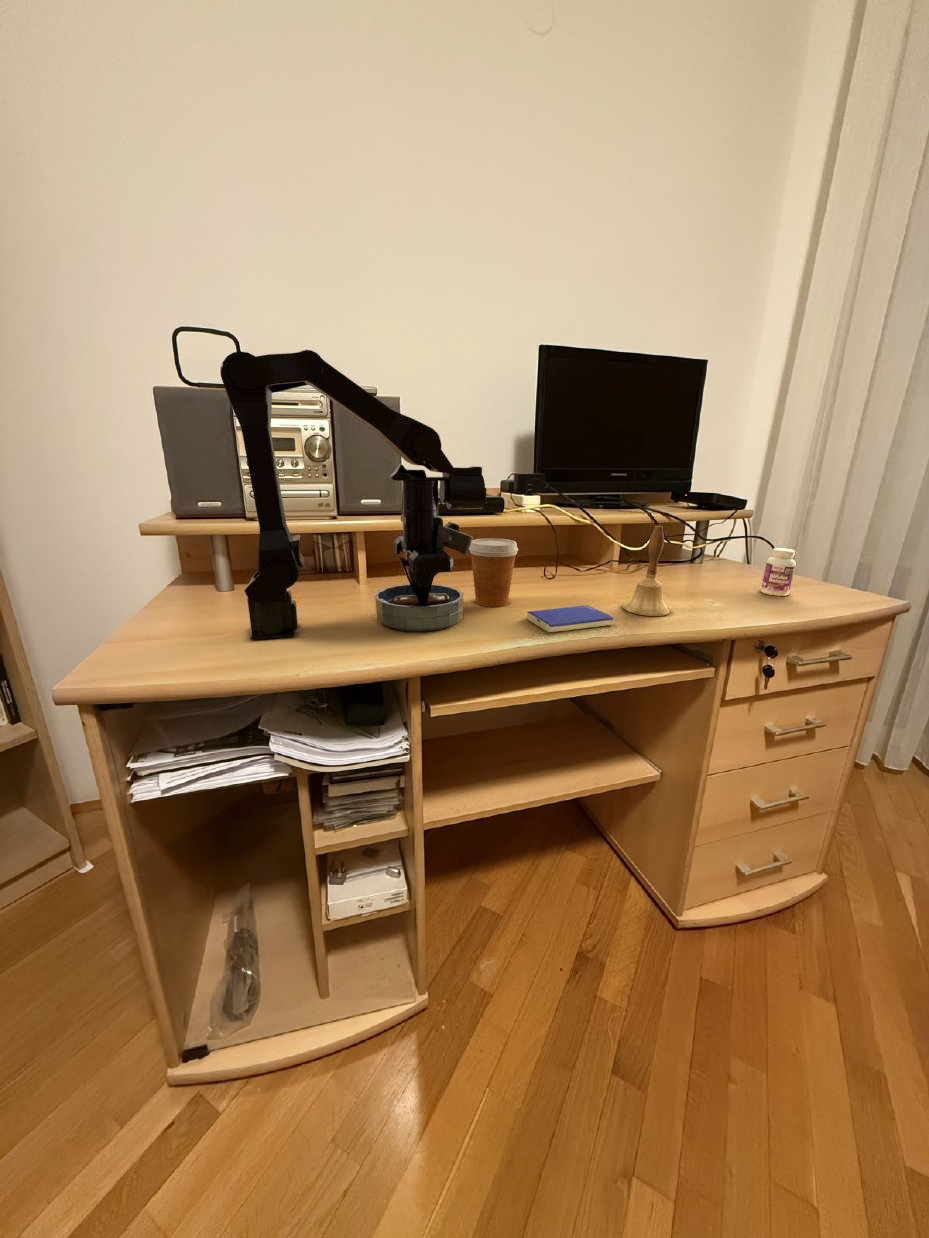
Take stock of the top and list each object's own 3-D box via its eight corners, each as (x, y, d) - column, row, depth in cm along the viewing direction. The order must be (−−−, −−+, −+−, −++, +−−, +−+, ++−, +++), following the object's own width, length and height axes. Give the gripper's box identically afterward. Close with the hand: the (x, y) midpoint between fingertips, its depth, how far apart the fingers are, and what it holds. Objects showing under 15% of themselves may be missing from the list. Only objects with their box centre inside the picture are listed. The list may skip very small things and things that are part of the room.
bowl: (382, 637, 77) (381, 610, 76) (371, 609, 91) (370, 586, 89) (474, 629, 81) (474, 603, 80) (450, 604, 95) (450, 581, 94)
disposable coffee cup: (513, 610, 92) (516, 547, 88) (463, 607, 93) (464, 544, 90) (518, 597, 100) (521, 539, 97) (472, 594, 102) (473, 537, 98)
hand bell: (665, 605, 96) (678, 524, 91) (672, 618, 89) (685, 529, 84) (622, 602, 98) (631, 522, 93) (624, 614, 91) (635, 527, 86)
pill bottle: (766, 595, 105) (775, 551, 102) (756, 589, 110) (765, 546, 107) (793, 597, 104) (804, 552, 101) (782, 590, 109) (792, 548, 106)
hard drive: (586, 604, 91) (527, 610, 87) (613, 616, 84) (550, 624, 80) (585, 612, 91) (526, 618, 87) (612, 625, 84) (549, 633, 80)
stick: (393, 612, 82) (393, 598, 81) (391, 607, 84) (391, 594, 83) (451, 608, 84) (451, 595, 83) (448, 603, 86) (448, 590, 86)
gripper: (486, 515, 73) (483, 615, 77) (453, 504, 90) (452, 586, 94) (412, 516, 69) (414, 620, 74) (392, 504, 86) (394, 590, 91)
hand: (421, 602), depth 84 cm, fingers closed on stick, 2 cm apart
